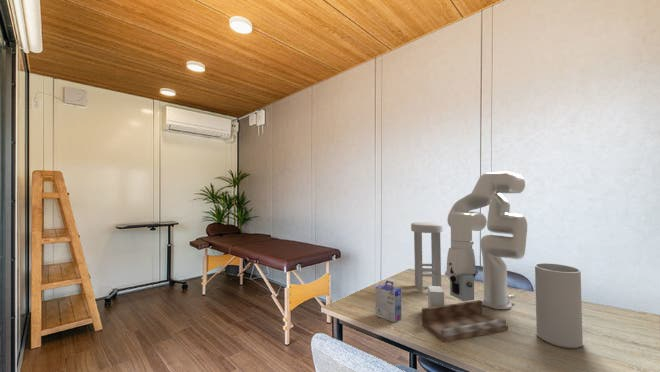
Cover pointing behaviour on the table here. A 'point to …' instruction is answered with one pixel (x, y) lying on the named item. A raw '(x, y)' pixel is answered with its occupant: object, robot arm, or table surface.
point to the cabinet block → (464, 288)
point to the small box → (435, 296)
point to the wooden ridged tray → (460, 321)
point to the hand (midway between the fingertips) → (461, 292)
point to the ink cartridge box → (388, 302)
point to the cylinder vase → (559, 304)
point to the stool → (435, 248)
